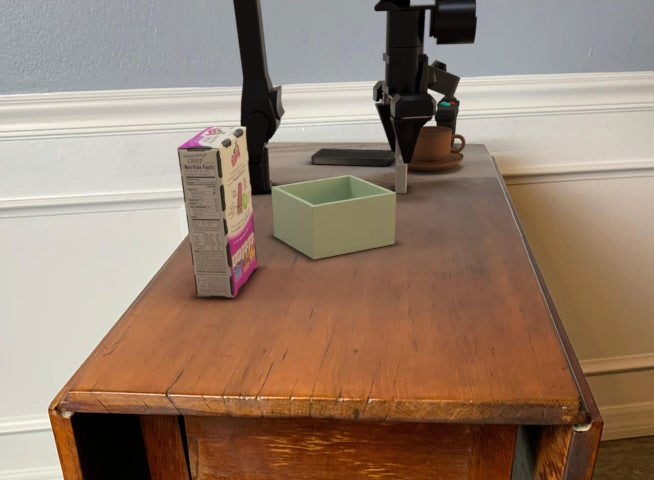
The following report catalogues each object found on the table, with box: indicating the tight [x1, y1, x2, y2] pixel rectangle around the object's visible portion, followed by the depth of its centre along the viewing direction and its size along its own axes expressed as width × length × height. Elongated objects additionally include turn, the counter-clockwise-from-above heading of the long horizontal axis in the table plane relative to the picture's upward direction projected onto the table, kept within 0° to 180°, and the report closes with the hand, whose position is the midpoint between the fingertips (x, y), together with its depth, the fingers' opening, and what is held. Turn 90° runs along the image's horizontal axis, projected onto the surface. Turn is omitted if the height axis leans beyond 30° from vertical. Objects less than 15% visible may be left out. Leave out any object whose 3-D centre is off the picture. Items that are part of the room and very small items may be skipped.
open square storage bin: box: [271, 174, 397, 261], centre depth 107 cm, size 12×12×7 cm
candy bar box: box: [176, 125, 258, 299], centre depth 91 cm, size 11×5×16 cm, turn 168°
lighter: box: [394, 139, 408, 194], centre depth 128 cm, size 7×2×8 cm, turn 176°
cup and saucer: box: [395, 125, 466, 172], centre depth 140 cm, size 12×12×6 cm
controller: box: [433, 95, 461, 148], centre depth 151 cm, size 4×12×10 cm, turn 168°
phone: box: [310, 148, 396, 167], centre depth 148 cm, size 8×1×15 cm
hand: (400, 157), depth 128 cm, fingers open, 9 cm apart
